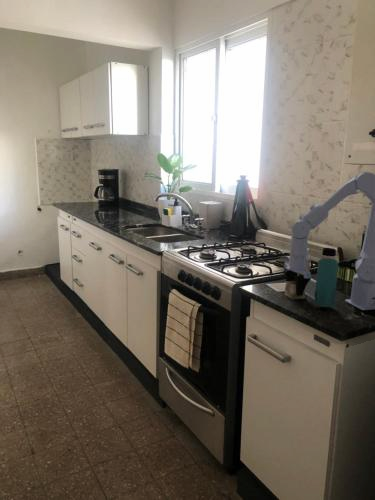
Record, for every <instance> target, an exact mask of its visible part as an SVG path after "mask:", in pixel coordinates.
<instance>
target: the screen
mask: <svg viewBox="0 0 375 500" xmlns="http://www.w3.org/2000/svg"><path fill="white" fill-rule="evenodd" d="M315 285H316V280H315V279H313V278H311V280H310V281H309V282H308V284H307V285H306V289H305V297H308V298H310V299H311V300H313V301H314V302H315V300H314V299H315V297H314V296H315V290H316V286H315Z"/></svg>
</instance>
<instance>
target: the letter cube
mask: <svg viewBox="0 0 375 500" xmlns="http://www.w3.org/2000/svg"><path fill="white" fill-rule="evenodd" d="M285 283H286V286H285V292H284V295H285V297H286V296H287V298H289V299H290V300H299V299H300V300H301V299H302V300H303V299H305V298H306V295H305V290H306V287H305V290H304V293H303V295H302V296H297V295H296V283H295V281H286V280H285Z"/></svg>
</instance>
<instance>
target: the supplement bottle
mask: <svg viewBox="0 0 375 500" xmlns="http://www.w3.org/2000/svg"><path fill="white" fill-rule="evenodd" d="M309 253H310V248H308V249H307V259H306V268H307V270H308V271H309V272H310V270H311V263H312V262H311V260H312V257H311V255H310V254H309ZM310 273H311V272H310ZM297 276H299V274H298V275H297Z"/></svg>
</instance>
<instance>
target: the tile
mask: <svg viewBox="0 0 375 500" xmlns="http://www.w3.org/2000/svg"><path fill="white" fill-rule="evenodd" d="M265 284H266V285H265V286H267V287H269V288H270V289H272V291H274V292H276V293H285V286H286V282H278V283H265Z"/></svg>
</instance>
